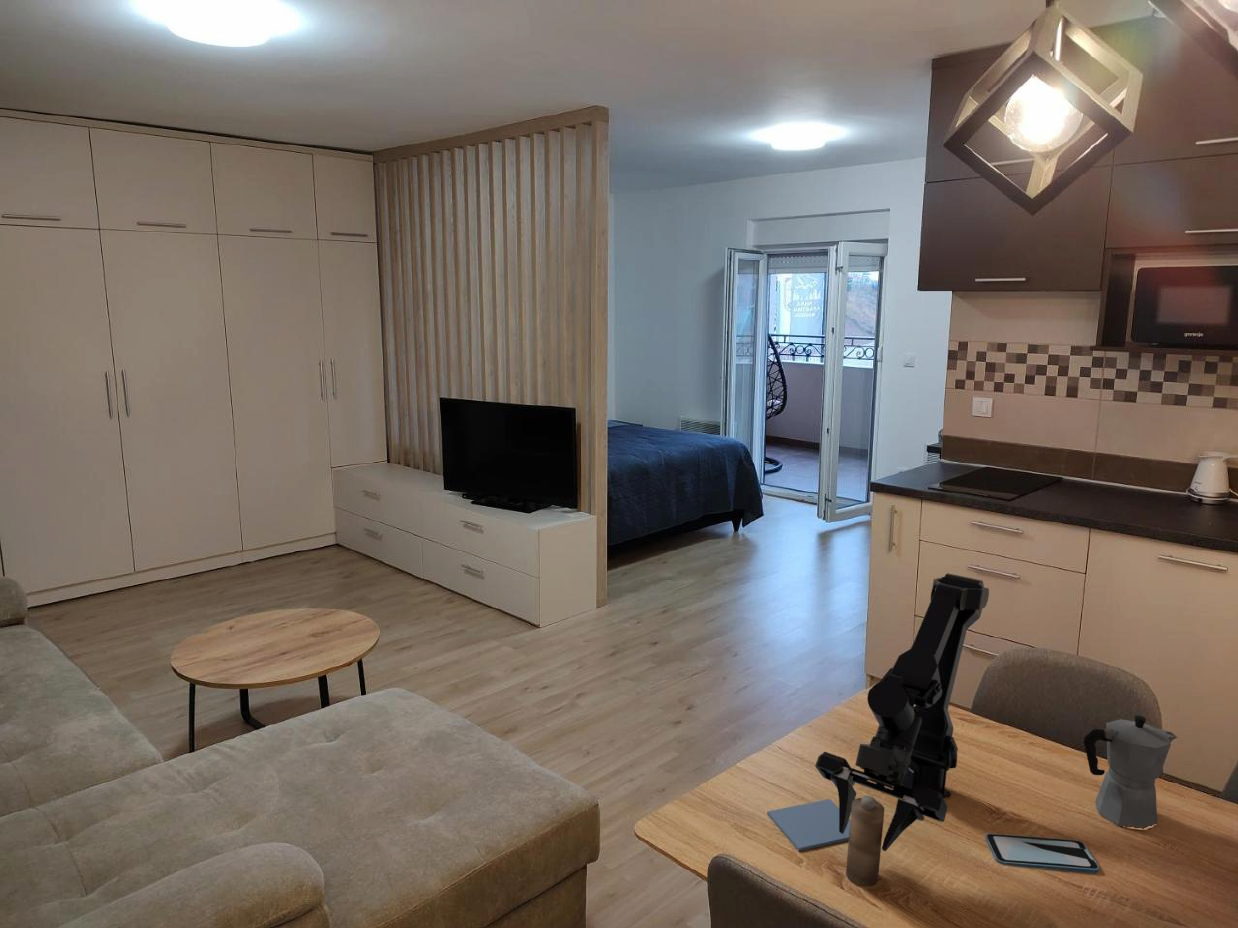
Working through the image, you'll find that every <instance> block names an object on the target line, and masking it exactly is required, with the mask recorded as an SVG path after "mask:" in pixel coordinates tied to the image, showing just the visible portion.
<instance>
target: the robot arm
mask: <svg viewBox="0 0 1238 928" xmlns="http://www.w3.org/2000/svg"><path fill="white" fill-rule="evenodd" d="M989 594H990V589H989V587H985V586H984V581H983V580H982V579H981V580H980V579H976V578H971V577H968V576H963V575H957V574H953V573H948V572H947V573H946V574H945V575H944V576H941V577H937V578H934V579H933V582H932V588H931V593H930V602H929V605H928V607H927V609H926V612H925V613H924V617H923V619H922V621H921V624H920V626H919V629H918V631H917V633H916V636H915V638H914V641H913V643H912V645H911V647H910V648H909V649H907V650H906V651H904V652H903V653H901V654H900V655H898V657H897V658H896V661H895V663H894V664H893V667H890V668H889V669H888V671H887V672H886V673H885V674H884V675H883V677H882V678H881V679H880V681H879V682H877V683H875V684H874V685H872V687H871V688H870V689H869V690H868V692H867V699H866V700H867V703H868V707H869V709H870V710H871V712H872V714H873V716H874V718H875V720H876V722H877V723H878V727H877V729H876V733H875V736H874V735H873V737H872V738H871V739H870V743H869V744H867V743H859V748H858V751H857V756H856V760H855V766H856V767H858V768H860V769H861V770H858V769H857V768H856V769H855V768H854V767H853V768H852V766H851V765H850V764H849V761H847V759H846V758H844V757H841V756H838V755H836V754H832V753H830V752H827V751H824V752H822V753H821V754H819V756H818V758H817V760H816V763H815V768H816V770H817V771H818V772H819V774H820V776H822V777H823V778H824V779H826V780H828V781H830V782H832V783H833V784H834V786H835V787H836V789H837V795H838V804H839V805H838V806H839V807H838V808H839V832H840V833H841V834H843V833H844V831H845V829H846V827H847V824H848V821H849V819H850V818H851V808H852V802H853V801H854V800H855V799H856V797H857V791H856V790H855V789H854V786H855V785H856V784H858V785H860V786H863V787H866V788H869V789H872V790H874V791H878V792H880V793H883V794H886V795H888V796H890V797H893V798H896V799H897V802H896V807H895V811H894V814H893V817H892V818H891V822H890V824H889V827H888V829H887V831H886V833H885V836H884V839H883V842H882V845H881V851H883V852H886V851H888V850H889V848H890V847H891V846H892V844H893V843H894V842H895V841H896V840H897V839H898V838H899V837H900V835H901V834H902V833H903V832H904V831H905V830H907V828H908V827H910V826H911V825H912V824H913V823H914V822H915V821H918V820H919V821H921V822H924V820H925V817H927V818H929V819H933V820H934V821H938V822H941V823H943V822H945V819H946V815H947V812H948V805H947V803H946V802H947V801H946V800H945V798H950V797H951V796H952V795H951V794H952V792H950V791H949V790H948V789H947V788H946V780H947V773H948V772H949V770H950V769H956V768H957V764H958V751H959V750H958V749H959V748H958V745H957V743H956V740H955V738H954V736H953V733H954V725H953V722H952V719H951V716H950V713H949V706H950V703H951V702H950V701H951V699H952V698H951V697H952V694H953V693H952V692H953V688H954V685H955V681H956V676H957V672H958V669H959V665H960V659H961V655H962V651H963V647H964V643H965V639H966V634H967V630H968V629H969V628H970V627H971V626H973V624H975V623H976V622H977V621H978V620H979V619H980V618H981V615H982V611H983V609H985V608H986V606H987V605H988V603H989V602H988V601H989V596H990V595H989Z"/></svg>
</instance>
